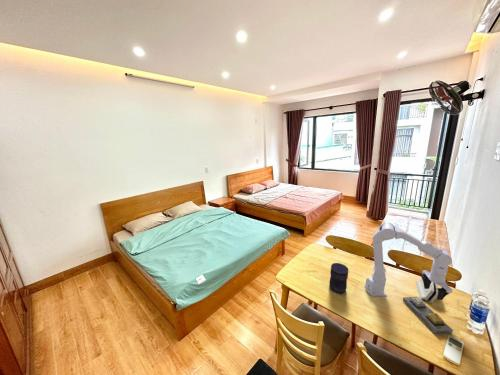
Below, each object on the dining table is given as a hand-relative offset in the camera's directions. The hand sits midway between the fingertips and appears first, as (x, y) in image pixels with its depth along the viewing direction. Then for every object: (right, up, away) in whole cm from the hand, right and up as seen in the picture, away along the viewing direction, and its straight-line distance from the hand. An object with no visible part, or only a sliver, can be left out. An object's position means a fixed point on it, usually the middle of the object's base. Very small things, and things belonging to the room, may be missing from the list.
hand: (432, 293), depth 105 cm
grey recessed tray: (-6, -11, -2) cm, 12 cm away
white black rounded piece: (+8, -7, +13) cm, 17 cm away
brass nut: (-6, -12, -6) cm, 15 cm away
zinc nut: (-6, -10, +3) cm, 12 cm away
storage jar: (-43, -7, +19) cm, 47 cm away
